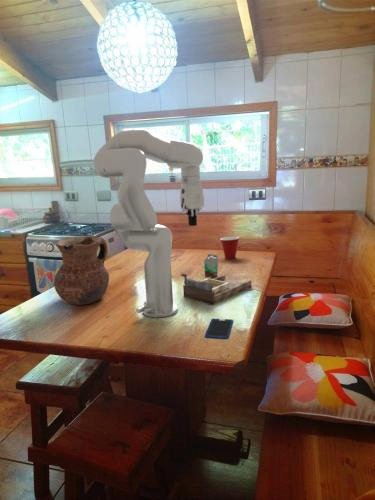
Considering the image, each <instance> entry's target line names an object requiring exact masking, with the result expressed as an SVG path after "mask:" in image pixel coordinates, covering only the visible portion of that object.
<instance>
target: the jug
mask: <svg viewBox="0 0 375 500" xmlns="http://www.w3.org/2000/svg"><path fill="white" fill-rule="evenodd" d="M54 245H55V247H56V248H57V249H58V250H59V252H60V254H61V257H62V265H61V266H60V268H59V269H58V270H57V272H56V274H55V276H54V280H53V281H54V283H53V284H54V290H55V292H56V294H57V295H58V296H59V298H61V300H62V301H64V302H65V303H67V304H70V305H74V306H85V305H89V304H93V303H95V302H97V301H99V300H100V299H102V298H103V297H104V295H106V292H107V289H108V286H109V281H110V280H109V279H110V275H109V271H108V270H107V268H106V267H105V261H106V257H107V254H108V246H107V243H106V240H105V239H104V238H102V237H100V236H96V235H91V236H80V237H64V238H59V239H57V240H56V241H55V244H54ZM98 250H99V252H98ZM97 254H98V255H97Z"/></svg>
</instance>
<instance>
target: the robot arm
mask: <svg viewBox="0 0 375 500" xmlns="http://www.w3.org/2000/svg"><path fill="white" fill-rule="evenodd" d="M147 160H150V161H153V162H156V163H160V164H166V165H167V166H168V168H171V169H176V170H177V169H180V173H181V174H180V175H181V178H180V182H181V185H180V191H179V192H180V193H179V195H180V197H179V198H180V199H179V202H180V207H181V213H183V214H184V213H185V214H186V217H188V218H187V219H188V226H190V227H195V226H197V224H198V223H197V222H198V220H197V217H198V214H199V212H200V211H201V210H202V209H203V208H204V206H205V199H204V198H205V197H204V196H205V195H204V189H203V186H202V183H201V174H200V173H201V172H200V171H201V170H200V166H201V165H202V164H203V160H204V156H203V152H202V149H200V147H198V146H197V145H195V144H193V143H191V142H187V141H181V140H176V139H171V138H166V137H163V136H161V135H159V134H157V133H155V132H153V131H151V130H148V129H146V128H145V129H144V128H137V129H136V128H135V129H129V130H122V131H119V132H117V133H116V134H114V135H113V136H111V137H110V139H108V140H107V142H106V143H104V144H103V145H102V146H101V147H100V149H98V151H97V152H96V153H95V155H94V158H93V162H92V163H93V169H94V171H95V172H96V174H98V176H100V177H101V178H105V179H115V178H116V179H118V178H121V182H120V185H119V188H118V191H117V199H118V202H116V203H115V204H113V206H112V207H111V209H110V212H109V221H110V222H109V223H110V224H111V227H112V229H113V230H114V231H115V233H116V235H117V236H118V237H119V238H120V240H121V242H122V243H123V245H124V246H126V248H127V249H128V250H130V251H134V252H136V251H137V252H147V253H148V255H147V257H146V259H145V261H144V262H143V263H144V264H143V271H144V272H143V273H144V284H145V297H146V300H145V301H143V302H144V303H143V304H142V306H139V307H136V309H135V311H136V313H137V314H141V313H142V314H144V315H145V316H146V317H150V318H157V319H158V318H159V319H160V318H167V317H169V316H170V317H171V316H173V315H175V314H176V313H177V312H178V309H179V307H178V305H177V304H175V303H174V298H173V280H172V261H171V258H172V257H171V256H172V247H173V246H172V244H173V233H172V231H171V229H170V228H169V227H167V226H165V225H162V224H158V216H157V213H156V210H155V209H154V207H153V206H152V203H151V201H150V199H149V197H148V196H147V193H146V191H145V189H144V185H145V184H144V182H145V175H146V170H147Z"/></svg>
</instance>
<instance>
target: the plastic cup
mask: <svg viewBox="0 0 375 500" xmlns="http://www.w3.org/2000/svg"><path fill="white" fill-rule="evenodd" d="M239 239H240V237H239V236H227V237H221V238H220V239H219V240H220V242H221V245H222V250H223V254H224V258H225V259H226V260H234V259H236V257H237V249H238V243H239Z"/></svg>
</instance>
